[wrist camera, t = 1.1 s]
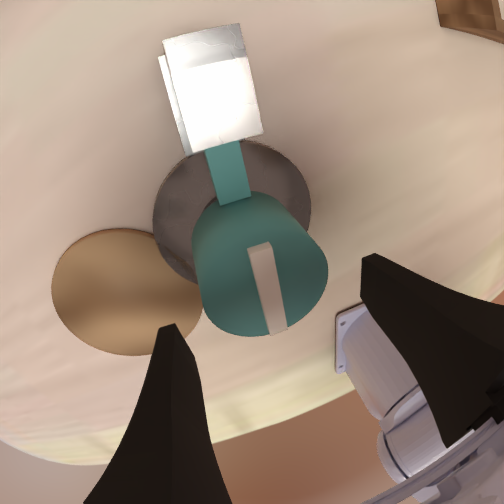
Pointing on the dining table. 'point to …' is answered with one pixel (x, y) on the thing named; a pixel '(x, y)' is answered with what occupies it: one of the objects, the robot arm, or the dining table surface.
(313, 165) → the dining table surface
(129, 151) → the dining table surface
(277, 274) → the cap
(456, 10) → the tray
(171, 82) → the dark grey handled bowl
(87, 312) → the coaster
